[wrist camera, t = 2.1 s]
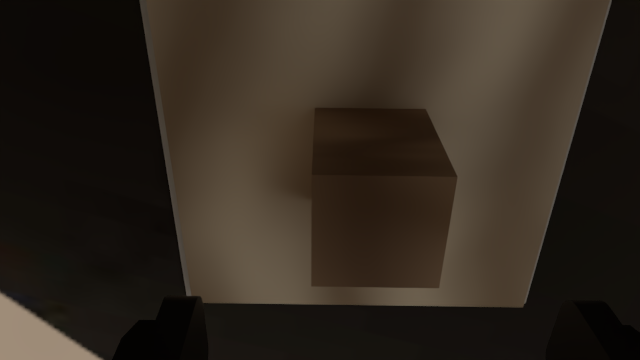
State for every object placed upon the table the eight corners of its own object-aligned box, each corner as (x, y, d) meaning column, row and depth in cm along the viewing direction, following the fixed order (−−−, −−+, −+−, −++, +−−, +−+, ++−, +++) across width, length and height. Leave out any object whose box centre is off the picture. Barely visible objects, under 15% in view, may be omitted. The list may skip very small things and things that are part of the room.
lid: (612, -60, 16) (745, -39, 11) (516, 295, 23) (569, 404, 18) (144, -66, 16) (61, -47, 11) (196, 290, 23) (161, 398, 18)
